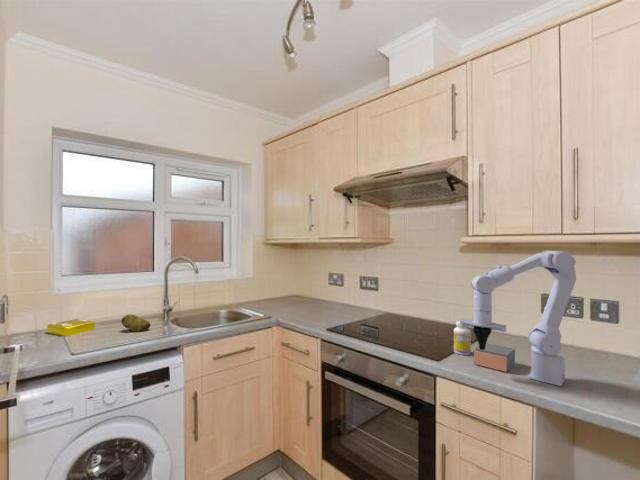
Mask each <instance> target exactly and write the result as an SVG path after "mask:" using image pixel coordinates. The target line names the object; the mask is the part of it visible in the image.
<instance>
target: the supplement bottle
mask: <svg viewBox="0 0 640 480" xmlns="http://www.w3.org/2000/svg"><path fill="white" fill-rule="evenodd" d="M455 325H456V327H455V328H453V352H454V353H455V354H458V355H461V356H469V355H471V352H472V348H471V347H472V343H471V342H472V338H471V337H472V332H471V331H472V330H471V329H470V328H469V326H465V325H463V326H462V325H460V320H457V321H456V322H455Z"/></svg>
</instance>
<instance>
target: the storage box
mask: <svg viewBox="0 0 640 480" xmlns="http://www.w3.org/2000/svg"><path fill="white" fill-rule="evenodd" d="M474 349H475V350H474V351H480V352H484V353H489V354H493V355H498V356H502V357H507V372H506V373H508V372H509V371H510V370H511V369H512V368H513V367H514V366H515V363H516V362H515V361H516V360H515V358H516V354H515V353H516V351H515V350H516V349H515V348H511V347H508V346H507V347H506V346H502V345H497V344H492V343H487V342H486V346H485V349H484V350H482V349H480V347H479V345H478V346H476V347H475V348H474Z"/></svg>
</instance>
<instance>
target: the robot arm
mask: <svg viewBox="0 0 640 480" xmlns="http://www.w3.org/2000/svg"><path fill="white" fill-rule="evenodd" d="M576 262H577V261H576V259H575V258H574V256H573V255H572V254H571V253H570V252H569V251H566V250H550V249H549V250H548V249H546V250H543V251H541V252H537V253H535V254H534V255H531V256H530V257H527V258H526V259H523V260H520V261H519V262H517V263H515V264H513V265H511V266H510V267H509V266H507V265H497V266H496V269H494V270H490V271H488V272H487V271H485V272H483V275H480V274H479V275H477V276H474V277H473V279H472V281H471V282H470V285H471V288H472V289H473V319H463V318H461V319H459V321H460V325H462V326H463V325H465V326H468V327H472V331H473V333H474V335H475V337H476V339H477V342H478V346H479V347H480V349H482V350H484V349H485V346H486V343H487V342H488V339H489V336H490V334H491V332H492V331H498V332H504V333H506V332H507V324H500V323H495V322H492V321H493V320H492V319H493V316H492V315H493V313H492V308H493V307H492V306H493V305H492V304H493V302H492V301H493V297H492V295H493V294H492V293H493V292H494V290H495V289H496V288H498V287H501V286H503V285H505V284H508V283H510V282H512V281H513V280H514V278H515V277H516V276H517V275H520V274H522V273H525V272H527V271H530V270H533V269H536V268H544V269H545V270H546V271H549V272H550V274H551V276H552V277H553V279H554V281H553V285H552V287H551V290H550V293H549V296H548V299H547V302H546V304H545V307H544V310H543V312H542V315H541V318H540V320H539V322H537V323H536V324H534V326H533V328H532V330H531V331H529V333H528V335H527V342H528V343H529V345H531V347H530V372H529V374H528V375H527V378H528V379H531V380H533V381H534V380H535V381H538V382H542V383H547V384H550V385H554V386H559V387H561V386H563V385H564V383H565V380H566V374H565V373H566V371H565V369H566V368H565V366H566V363H565V362H566V361H565V357H564V355H563V356H562V355H559V354H558V353H559V352H561V348H562V345H561V344H562V343H561V341H562V334H561V330H560V329H559V328H560V325H561V323H562V321H563V317H564V314H565V312H566V309H567V306H568V303H569V300H570V298H571V296H572V292H573V289H574V286H575V283H576V281H577V274H576V270H575V266H576Z"/></svg>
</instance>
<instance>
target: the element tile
mask: <svg viewBox="0 0 640 480" xmlns="http://www.w3.org/2000/svg"><path fill="white" fill-rule="evenodd" d="M46 327H47V328H46V332H47V334H50V335H55V336H59V337H68V336H72V335H76V334H81V333H87V332H89V331H93V330H95V321H94V320H93V321H92V320H86V319H81V318H76V319H70V320H64V321H59V322H54V323H49V324H47V325H46Z"/></svg>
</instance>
